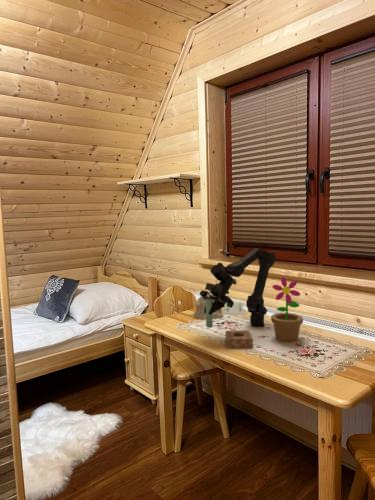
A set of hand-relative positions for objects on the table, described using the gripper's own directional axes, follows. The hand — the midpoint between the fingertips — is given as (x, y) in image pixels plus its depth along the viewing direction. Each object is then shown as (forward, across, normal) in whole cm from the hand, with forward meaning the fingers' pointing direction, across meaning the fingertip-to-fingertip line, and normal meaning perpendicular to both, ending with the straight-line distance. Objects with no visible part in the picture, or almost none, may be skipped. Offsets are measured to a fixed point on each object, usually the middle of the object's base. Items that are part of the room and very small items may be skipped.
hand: (206, 313), depth 171 cm
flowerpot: (-11, +23, +30) cm, 39 cm away
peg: (+4, 0, +6) cm, 7 cm away
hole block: (+3, +12, +15) cm, 20 cm away
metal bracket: (-21, -26, +41) cm, 53 cm away
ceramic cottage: (-10, -30, +29) cm, 43 cm away
